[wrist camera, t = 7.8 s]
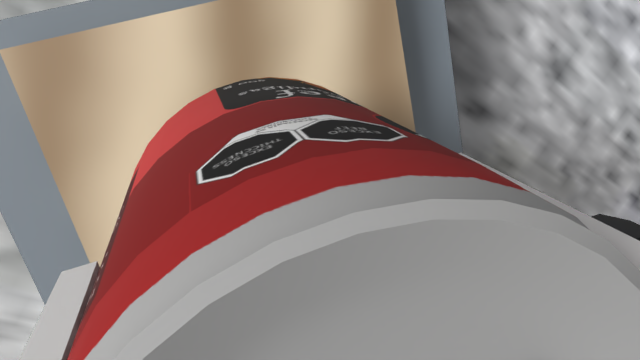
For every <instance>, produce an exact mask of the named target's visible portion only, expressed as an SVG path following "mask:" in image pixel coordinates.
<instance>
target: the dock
mask: <svg viewBox="0 0 640 360" xmlns="http://www.w3.org/2000/svg"><path fill="white" fill-rule="evenodd" d="M212 1H217V0H90V1H85V2H80V3H76V4H71V5H67V6H62V7H58V8H53V9H48V10H44V11H39V12H35V13H30V14H26V15H21V16H16V17H12V18H7V19H3V20H0V50H1V49H5V48H10V47H14V46H19V45H23V44H27V43H32V42H36V41H41V40H45V39H49V38H54V37H58V36H63V35H67V34H71V33H76V32H80V31H85V30H89V29H93V28H98V27H102V26H107V25H111V24H116V23H120V22H124V21H129V20H133V19H138V18H142V17H146V16H151V15H155V14H160V13H164V12H168V11H173V10H177V9H182V8H186V7H190V6H195V5H199V4H204V3H208V2H212ZM396 7H397V13H398V20H399V26H400V33H401V40H402V46H403V53H404V59H405V66H406V72H407V79H408V85H409V92H410V99H411V105H412V112H413V118H414V125H415V131H416V133H418V134H420V135H422V136H424V137H426V138H428V139H430V140H432V141H434V142H436V143H438V144H440V145H442V146H444V147H446V148H448V149H450V150H452V151H454V152H456V153H463V151H462V143H461V135H460V126H459V118H458V110H457V102H456V93H455V85H454V77H453V68H452V60H451V52H450V43H449V35H448V27H447V19H446V10H445V2H444V0H396ZM0 212H1V214H2V216H3V218H4V220H5V222H6V224H7V227H8V229H9V231H10V233H11V235H12V237H13V239H14V241H15V243H16V245H17V247H18V249H19V252H20V254H21V256H22V258H23V260H24V262H25V264H26V266H27V268H28V270H29V272H30V274H31V276H32V279H33V281H34V283H35V285H36V287H37V289H38V291H39V293H40V295H41V297H42V299H43V301H44V304H46V302H47V300H48V298H49V296H50V294H51V292H52V290H53V288H54V286H55V284H56V282H57V280H58V278H59V276H60V274H61V272H62V271H66V270H69V269H72V268H76V267H79V266H82V265H86V264H89V263H90V262H89V259H88V257H87V255H86V252H85V250H84V248H83V245H82V243H81V241H80V238H79V236H78V234H77V231H76V229H75V227H74V224H73V222H72V220H71V217H70V215H69V213H68V210H67V208H66V206H65V203H64V201H63V199H62V196H61V194H60V192H59V189H58V187H57V185H56V182H55V180H54V178H53V175H52V173H51V171H50V168H49V166H48V164H47V161H46V159H45V157H44V154H43V152H42V150H41V147H40V145H39V143H38V140H37V138H36V136H35V133H34V131H33V129H32V126H31V124H30V122H29V119H28V117H27V115H26V112H25V110H24V108H23V105H22V103H21V101H20V98H19V96H18V94H17V91H16V89H15V87H14V84H13V82H12V80H11V77H10V75H9V73H8V70H7V68H6V66H5V63H4V61H3V59H2V56H1V54H0Z"/></svg>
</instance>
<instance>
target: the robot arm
mask: <svg viewBox="0 0 640 360" xmlns="http://www.w3.org/2000/svg"><path fill="white" fill-rule="evenodd" d="M458 154H460V155H462V156H464V157H466V158H468V159H470V160H472V161H474V162H476V163H478V164H480V165H482V166H484V167H486V168H488V169H490V170H491V171H493V172H495V173H497V174H499V175H501V176H503V177H504V178H506V179H508V180H510V181H512V182H514V183H515V184H517V185H519V186H521V187H522V188H524V189H526V190H528V191H530V192H532V193H533V194H535V195H537V196H539V197H541V198H543V199H544V200H546V201H548V202H550V203H552V204H554V205H555V206H557V207H559V208H561V209H563V210H565V211H566V212H568V213H570V214H572V215H574V216H576V217H577V218H578V219H579V220H580V221H581V222H582V223H583V224H584V225H585V226H586V227H587V228H588V229H589V230H591V231H592V232H594V233H596V234H598V235H600V236H602V237H604V238H605V239H607V240H609V241H610V242H611V243H612V244H613V245H614V246H615V247H616V248H617V249H618V250H619V251H620V252H621V253H622V254H623V255H624V256H625V257H627V258H628V259H629V260H630V261H631V262H632V263H633V264H634V265H635V266H636V267H637V268H638V269H639V270H640V225H638V224H636V223H634V222H632V221H629V220H624V219H620V218H615V217H611V216H606V215H602V214H598V215H595V216H592V217H590V216H588V215H586V214H584V213H582V212H580V211H578V210H576V209H574V208H572V207H570V206H568V205H566V204H564V203H562V202H560V201H558V200H556V199H554V198H552V197H550V196H548V195H546V194H544V193H542V192H540V191H538V190H536V189H534V188H532V187H530V186H528V185H526V184H524V183H522V182H520V181H518V180H516V179H514V178H511V177H509V176H507V175H505V174H503V173H501V172H499V171H497V170H495V169H493V168H491V167H489V166H487V165H485V164H483V163H481V162H479V161H477V160H475V159H473V158H471V157H469V156H467V155H465V154H463V153H458ZM99 269H100V266H99V264H98V262H97V261H96V262H92V263H89V264H86V265H82V266H79V267H76V268H72V269H69V270H66V271H62V272H61V274H60V276H59V278H58V280H57V282H56V284H55V286H54V288H53V290H52V292H51V294H50V296H49V298H48V300H47V302H46V304H45V306H44V309H43V311H42V313H41V315H40V317H39V319H38V321H37V323H36V325H35V327H34V329H33V331H32V333H31V335H30V337H29V339H28V341H27V343H26V345H25V347H24V349H23V352H22V354H21V356H20V358H19V360H67V359H68V356H69V353H70V350H71V348H72V345H73V342H74V339H75V336H76V334H77V331H78V328H79V325H80V322H81V319H82V317H83V314H84V311H85V308H86V305H87V303H88V300H89V297H90V294H91V291H92V289H93V286H94V283H95V280H96V277H97V275H98V272H99Z"/></svg>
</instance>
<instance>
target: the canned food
mask: <svg viewBox="0 0 640 360" xmlns="http://www.w3.org/2000/svg"><path fill="white" fill-rule="evenodd" d="M67 360H640V270H639V269H638V268H637V267H636V266H635V265H634V264H633V263H632V262H631V261H630V260H629V259H628V258H627V257H625V256H624V255H623V254H622V253H621V252H620V251H619V250H618V249H617V248H616V247H615V246H614V245H613V244H612V243H611V242H610V241H609V240H607V239H605V238H604V237H602V236H600V235H598V234H596V233H594V232H592V231H591V230H589V229H588V228H587V227H586V226H585V225H584V224H583V223H582V222H581V221H580V220H579V219H578V218H577V217H576V216H574V215H572V214H570V213H568V212H566V211H565V210H563V209H561V208H559V207H557V206H555V205H554V204H552V203H550V202H548V201H546V200H544V199H543V198H541V197H539V196H537V195H535V194H533V193H532V192H530V191H528V190H526V189H524V188H522V187H521V186H519V185H517V184H515V183H514V182H512V181H510V180H508V179H506V178H504V177H503V176H501V175H499V174H497V173H495V172H493V171H491V170H490V169H488V168H486V167H484V166H482V165H480V164H478V163H476V162H474V161H472V160H470V159H468V158H466V157H464V156H462V155H460V154H458V153H456V152H454V151H452V150H450V149H448V148H446V147H444V146H442V145H440V144H438V143H436V142H434V141H432V140H430V139H428V138H426V137H424V136H422V135H420V134H418V133H416V132H414V131H412V130H410V129H408V128H405V127H403V126H401V125H399V124H397V123H395V122H393V121H391V120H389V119H387V118H385V117H383V116H381V115H379V114H377V113H375V112H373V111H371V110H369V109H367V108H365V107H363V106H361V105H359V104H357V103H355V102H353V101H351V100H349V99H347V98H345V97H343V96H341V95H339V94H337V93H335V92H333V91H330V90H328V89H326V88H324V87H322V86H319V85H316V84H312V83H309V82H305V81H302V80H298V79H289V78H277V77H265V78H257V79H248V80H241V81H238V82H235V83H232V84H228V85H225V86H222V87H219V88H216V89H213V90H212V91H210V92H208V93H206V94H204V95H202V96H201V97H199V98H197V99H195V100H193V101H191V102H190V103H188V104H187V105H186V106H184V107H183V108H182V109H181V110H180V111H178V112H177V113H176V114H175V115H173V116H172V117H171V118H170V119H169V120H167V121H166V122H165V124H164V125H163V126H162V127H161V129H160V130H159V131H158V132H157V133H156V135H155V136H154V137H153V138H152V140H151V141H150V142H149V143H148V145H147V147H146V149H145V151H144V153H143V155H142V156H141V158H140V160H139V162H138V164H137V166H136V168H135V171H134V173H133V176H132V179H131V182H130V185H129V188H128V190H127V193H126V196H125V199H124V202H123V204H122V207H121V210H120V213H119V216H118V218H117V221H116V224H115V227H114V230H113V232H112V235H111V238H110V241H109V244H108V246H107V249H106V252H105V255H104V258H103V261H102V263H101V266H100V269H99V272H98V275H97V277H96V280H95V283H94V286H93V289H92V291H91V294H90V297H89V300H88V303H87V305H86V308H85V311H84V314H83V317H82V319H81V322H80V325H79V328H78V331H77V334H76V336H75V339H74V342H73V345H72V348H71V350H70V353H69V356H68V359H67Z"/></svg>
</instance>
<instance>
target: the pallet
mask: <svg viewBox="0 0 640 360" xmlns="http://www.w3.org/2000/svg"><path fill="white" fill-rule="evenodd" d="M0 54H1V56H2V59H3V61H4V63H5V66H6V68H7V70H8V73H9V75H10V77H11V80H12V82H13V84H14V87H15V89H16V91H17V94H18V96H19V98H20V101H21V103H22V105H23V108H24V110H25V112H26V115H27V117H28V119H29V122H30V124H31V126H32V129H33V131H34V133H35V136H36V138H37V140H38V143H39V145H40V147H41V150H42V152H43V154H44V157H45V159H46V161H47V164H48V166H49V168H50V171H51V173H52V175H53V178H54V180H55V182H56V185H57V187H58V189H59V192H60V194H61V196H62V199H63V201H64V203H65V206H66V208H67V210H68V213H69V215H70V217H71V220H72V222H73V224H74V227H75V229H76V231H77V234H78V236H79V238H80V241H81V243H82V245H83V248H84V250H85V252H86V255H87V257H88V259H89V262H90V263H92V262H96V261H97V262H98V264H99V266H101V263H102V261H103V258H104V255H105V252H106V249H107V246H108V244H109V241H110V238H111V235H112V232H113V230H114V227H115V224H116V221H117V218H118V216H119V213H120V210H121V207H122V204H123V202H124V199H125V196H126V193H127V190H128V188H129V185H130V182H131V179H132V176H133V173H134V171H135V168H136V166H137V164H138V162H139V160H140V158H141V156H142V155H143V153H144V151H145V149H146V147H147V145H148V143H149V142H150V141H151V140H152V138H153V137H154V136H155V135H156V133H157V132H158V131H159V130H160V129H161V127H162V126H163V125H164V124H165V122H166V121H167V120H169V119H170V118H171V117H172V116H173V115H175V114H176V113H177V112H178V111H180V110H181V109H182V108H183V107H184V106H186V105H187V104H188V103H190V102H191V101H193V100H195V99H197V98H199V97H201V96H202V95H204V94H206V93H208V92H210V91H212V90H213V89H216V88H219V87H222V86H225V85H228V84H232V83H235V82H238V81H241V80H248V79H257V78H265V77H277V78H289V79H298V80H302V81H305V82H309V83H312V84H316V85H319V86H322V87H324V88H326V89H328V90H330V91H333V92H335V93H337V94H339V95H341V96H343V97H345V98H347V99H349V100H351V101H353V102H355V103H357V104H359V105H361V106H363V107H365V108H367V109H369V110H371V111H373V112H375V113H377V114H379V115H381V116H383V117H385V118H387V119H389V120H391V121H393V122H395V123H397V124H399V125H401V126H403V127H405V128H408V129H410V130H412V131H414V132H416V131H415V125H414V118H413V112H412V105H411V99H410V92H409V85H408V79H407V72H406V66H405V59H404V53H403V46H402V40H401V33H400V26H399V20H398V13H397V7H396V0H217V1H212V2H208V3H204V4H199V5H195V6H190V7H186V8H182V9H177V10H173V11H168V12H164V13H160V14H155V15H151V16H146V17H142V18H138V19H133V20H129V21H124V22H120V23H116V24H111V25H107V26H102V27H98V28H93V29H89V30H85V31H80V32H76V33H71V34H67V35H63V36H58V37H54V38H49V39H45V40H41V41H36V42H32V43H27V44H23V45H19V46H14V47H10V48H5V49H1V50H0Z"/></svg>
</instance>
